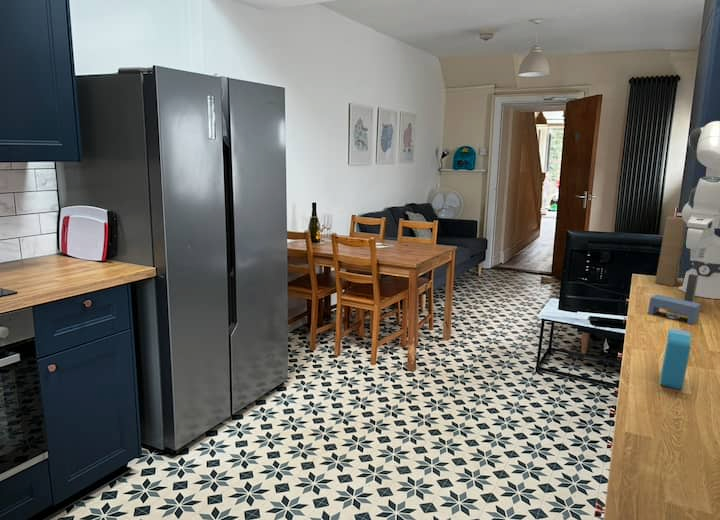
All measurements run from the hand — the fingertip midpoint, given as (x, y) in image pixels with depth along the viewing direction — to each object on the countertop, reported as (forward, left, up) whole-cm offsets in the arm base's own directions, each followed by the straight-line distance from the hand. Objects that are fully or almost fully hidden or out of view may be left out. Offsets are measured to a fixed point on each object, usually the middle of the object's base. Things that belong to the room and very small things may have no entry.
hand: (696, 259), depth 191 cm
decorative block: (-42, -20, -19) cm, 50 cm away
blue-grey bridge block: (+17, 0, -19) cm, 26 cm away
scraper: (+5, 0, -19) cm, 20 cm away
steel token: (+17, 0, -19) cm, 26 cm away
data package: (+78, +17, -19) cm, 83 cm away
